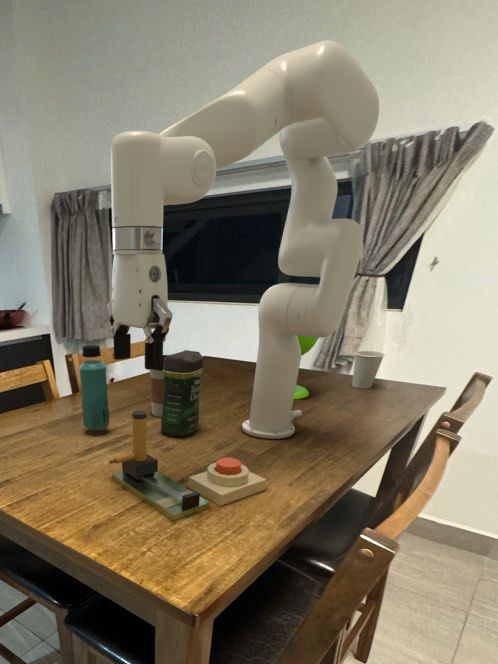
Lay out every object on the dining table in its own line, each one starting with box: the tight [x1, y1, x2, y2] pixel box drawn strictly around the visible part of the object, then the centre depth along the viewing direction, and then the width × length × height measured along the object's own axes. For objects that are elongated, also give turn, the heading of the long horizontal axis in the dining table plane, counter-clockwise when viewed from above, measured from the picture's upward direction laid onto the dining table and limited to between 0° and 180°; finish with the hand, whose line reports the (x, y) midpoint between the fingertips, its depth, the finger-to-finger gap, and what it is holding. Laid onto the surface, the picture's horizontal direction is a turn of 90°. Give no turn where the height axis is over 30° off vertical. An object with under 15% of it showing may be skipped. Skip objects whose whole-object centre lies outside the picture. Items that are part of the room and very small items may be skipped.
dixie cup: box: [351, 350, 385, 390], centre depth 141 cm, size 8×8×10 cm
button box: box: [187, 461, 267, 507], centre depth 83 cm, size 11×9×4 cm
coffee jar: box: [160, 349, 204, 437], centre depth 106 cm, size 10×8×19 cm
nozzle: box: [108, 410, 159, 481], centre depth 82 cm, size 9×5×12 cm, turn 123°
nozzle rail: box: [111, 469, 211, 522], centre depth 82 cm, size 8×20×4 cm, turn 33°
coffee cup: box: [148, 354, 169, 418], centre depth 119 cm, size 8×8×15 cm
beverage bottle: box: [78, 344, 110, 431], centre depth 106 cm, size 6×7×20 cm
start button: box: [215, 457, 242, 475], centre depth 82 cm, size 4×4×2 cm
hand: (137, 363), depth 76 cm, fingers open, 9 cm apart
